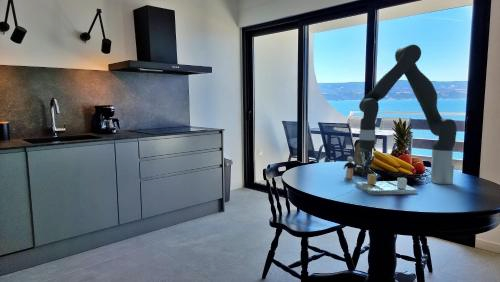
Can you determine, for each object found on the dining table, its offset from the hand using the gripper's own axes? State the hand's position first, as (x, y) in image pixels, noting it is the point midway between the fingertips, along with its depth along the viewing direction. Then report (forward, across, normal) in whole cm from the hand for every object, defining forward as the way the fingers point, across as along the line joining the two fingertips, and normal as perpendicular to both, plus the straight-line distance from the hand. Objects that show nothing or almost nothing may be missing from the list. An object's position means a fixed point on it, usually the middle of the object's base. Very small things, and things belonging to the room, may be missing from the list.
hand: (365, 172), depth 167 cm
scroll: (+6, +26, -9) cm, 29 cm away
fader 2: (+4, -16, -10) cm, 19 cm away
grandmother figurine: (+6, +14, +3) cm, 15 cm away
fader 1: (+4, -6, 0) cm, 8 cm away
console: (+6, -10, -5) cm, 13 cm away
